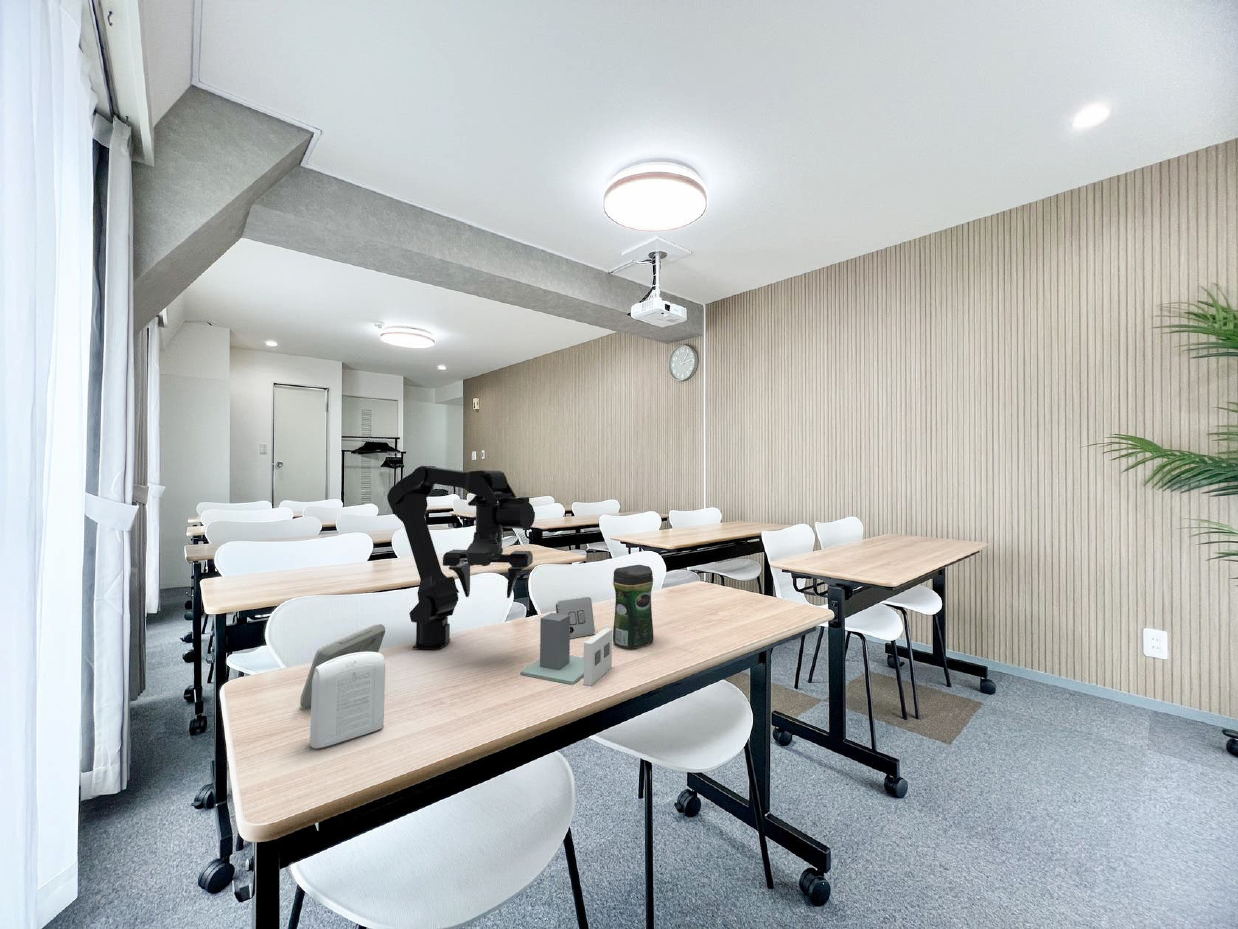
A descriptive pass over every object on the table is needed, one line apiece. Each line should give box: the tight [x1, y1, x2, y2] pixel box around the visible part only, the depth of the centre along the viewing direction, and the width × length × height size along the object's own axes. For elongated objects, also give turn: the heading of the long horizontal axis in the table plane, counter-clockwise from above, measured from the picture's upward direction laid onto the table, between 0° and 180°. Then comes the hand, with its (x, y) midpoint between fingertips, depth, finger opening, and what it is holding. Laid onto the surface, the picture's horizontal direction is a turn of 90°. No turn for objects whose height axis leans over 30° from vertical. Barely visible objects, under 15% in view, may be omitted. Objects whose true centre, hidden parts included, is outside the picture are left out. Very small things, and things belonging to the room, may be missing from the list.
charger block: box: [539, 612, 571, 670], centre depth 105 cm, size 5×4×10 cm
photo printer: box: [309, 651, 386, 750], centre depth 77 cm, size 10×4×12 cm, turn 134°
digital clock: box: [299, 623, 386, 709], centre depth 92 cm, size 16×9×11 cm, turn 156°
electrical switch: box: [555, 596, 596, 640], centre depth 126 cm, size 9×5×9 cm, turn 121°
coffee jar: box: [612, 564, 654, 649], centre depth 120 cm, size 10×8×19 cm
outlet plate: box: [583, 627, 613, 687], centre depth 101 cm, size 2×10×8 cm, turn 157°
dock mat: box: [519, 655, 584, 686], centre depth 104 cm, size 12×12×1 cm
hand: (488, 597), depth 111 cm, fingers open, 9 cm apart
